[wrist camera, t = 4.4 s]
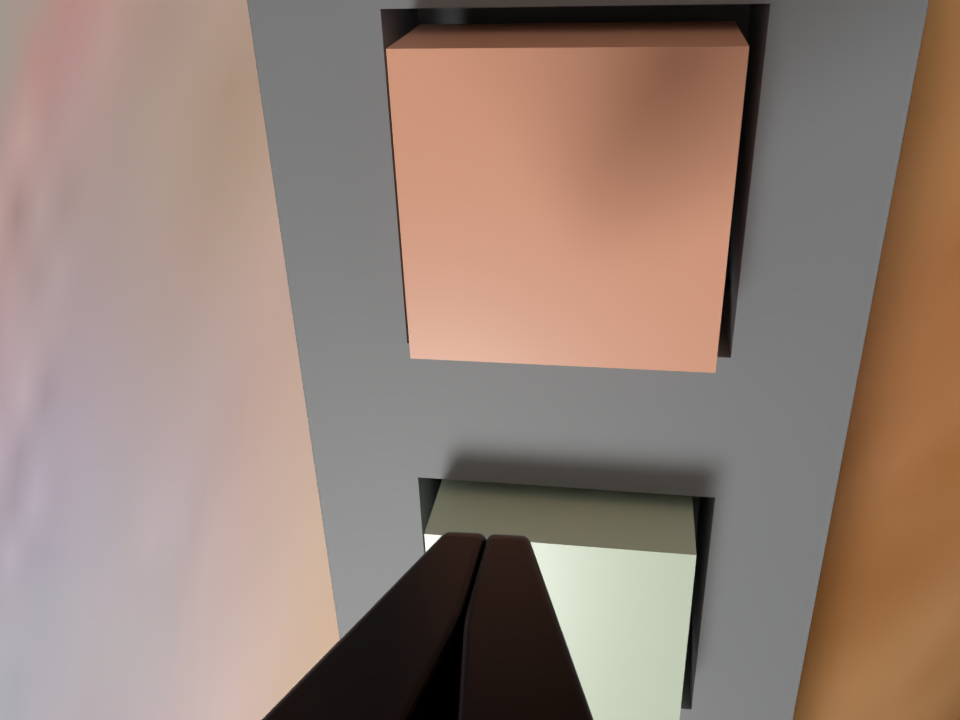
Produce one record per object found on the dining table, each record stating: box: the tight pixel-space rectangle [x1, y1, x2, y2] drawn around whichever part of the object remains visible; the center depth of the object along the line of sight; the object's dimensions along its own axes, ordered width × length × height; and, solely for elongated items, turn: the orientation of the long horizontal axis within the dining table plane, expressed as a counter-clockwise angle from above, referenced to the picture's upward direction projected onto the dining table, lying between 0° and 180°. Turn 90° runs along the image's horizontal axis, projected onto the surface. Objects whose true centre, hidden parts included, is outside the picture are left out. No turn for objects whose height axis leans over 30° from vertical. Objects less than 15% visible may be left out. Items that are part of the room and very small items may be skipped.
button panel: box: [247, 0, 929, 720], centre depth 16 cm, size 8×20×3 cm, turn 2°
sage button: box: [424, 479, 697, 720], centre depth 15 cm, size 4×4×2 cm
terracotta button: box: [386, 21, 749, 373], centre depth 12 cm, size 4×4×2 cm
